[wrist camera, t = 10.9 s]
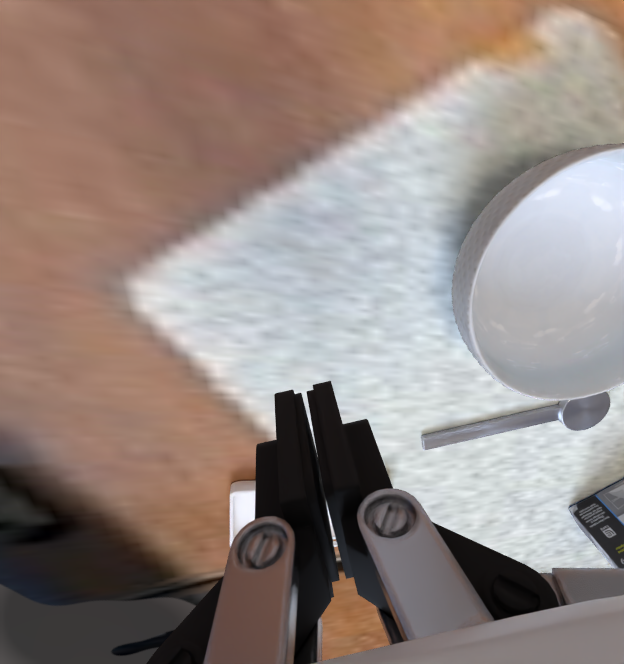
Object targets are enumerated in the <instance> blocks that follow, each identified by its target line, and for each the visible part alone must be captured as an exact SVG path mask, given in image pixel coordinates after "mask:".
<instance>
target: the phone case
mask: <svg viewBox="0 0 624 664" xmlns="http://www.w3.org/2000/svg"><path fill="white" fill-rule="evenodd" d="M255 485H256V481H237V482H234V483H232V484H231V489H230V547H231V545H232V542H233V540H234V538H235V536H236V535H237V534H238V532H239V531H240V530H241V529H242V528H243V527H244V526H245V525H247V524H248V523H249V522H251V521H253V520H255ZM326 504H327V502H326ZM327 510H328V506H327ZM328 516H329V521H330V527H331V533H332V539H336V537H335V533H334V530H333V526H332V522H331V518H330V514H329V510H328ZM333 545H334V547H335V546H338V545H337V541H333Z"/></svg>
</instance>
